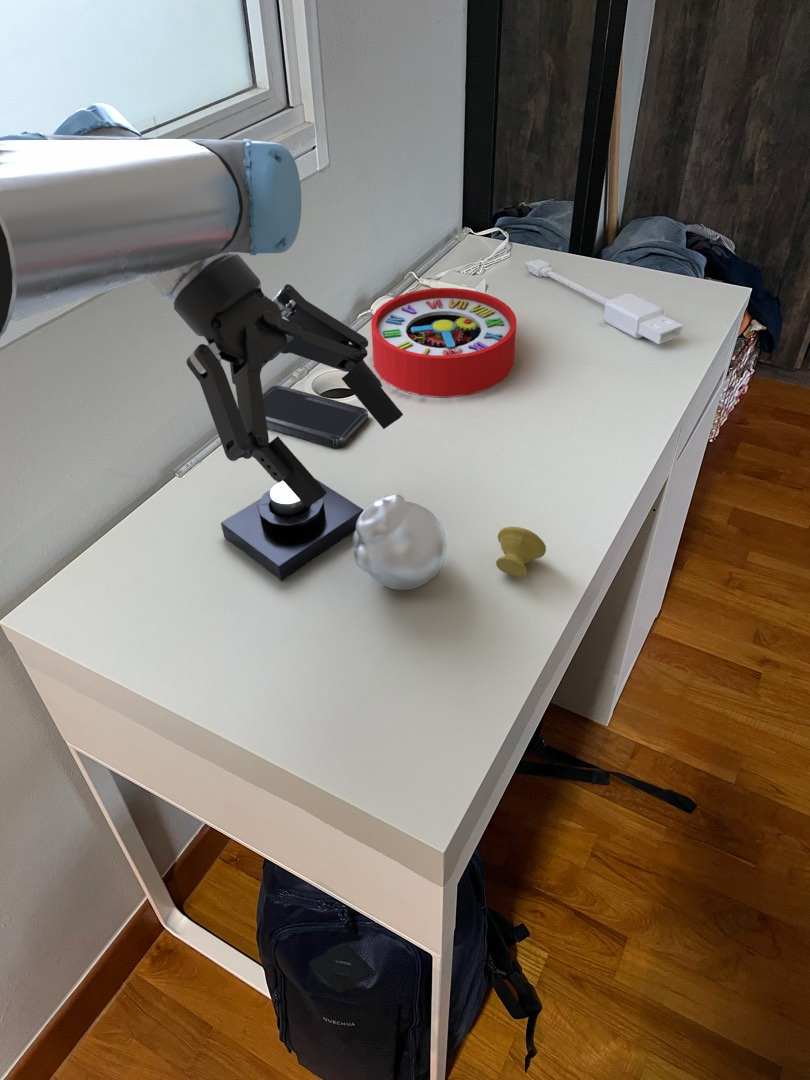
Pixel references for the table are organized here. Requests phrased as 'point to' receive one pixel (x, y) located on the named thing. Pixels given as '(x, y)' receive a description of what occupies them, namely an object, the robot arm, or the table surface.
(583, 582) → the table surface
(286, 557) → the panel
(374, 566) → the ghost figurine
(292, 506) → the stove button
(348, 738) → the table surface
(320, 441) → the phone
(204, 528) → the table surface
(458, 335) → the toy clock
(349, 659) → the table surface
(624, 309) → the charging cable
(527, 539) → the knob
